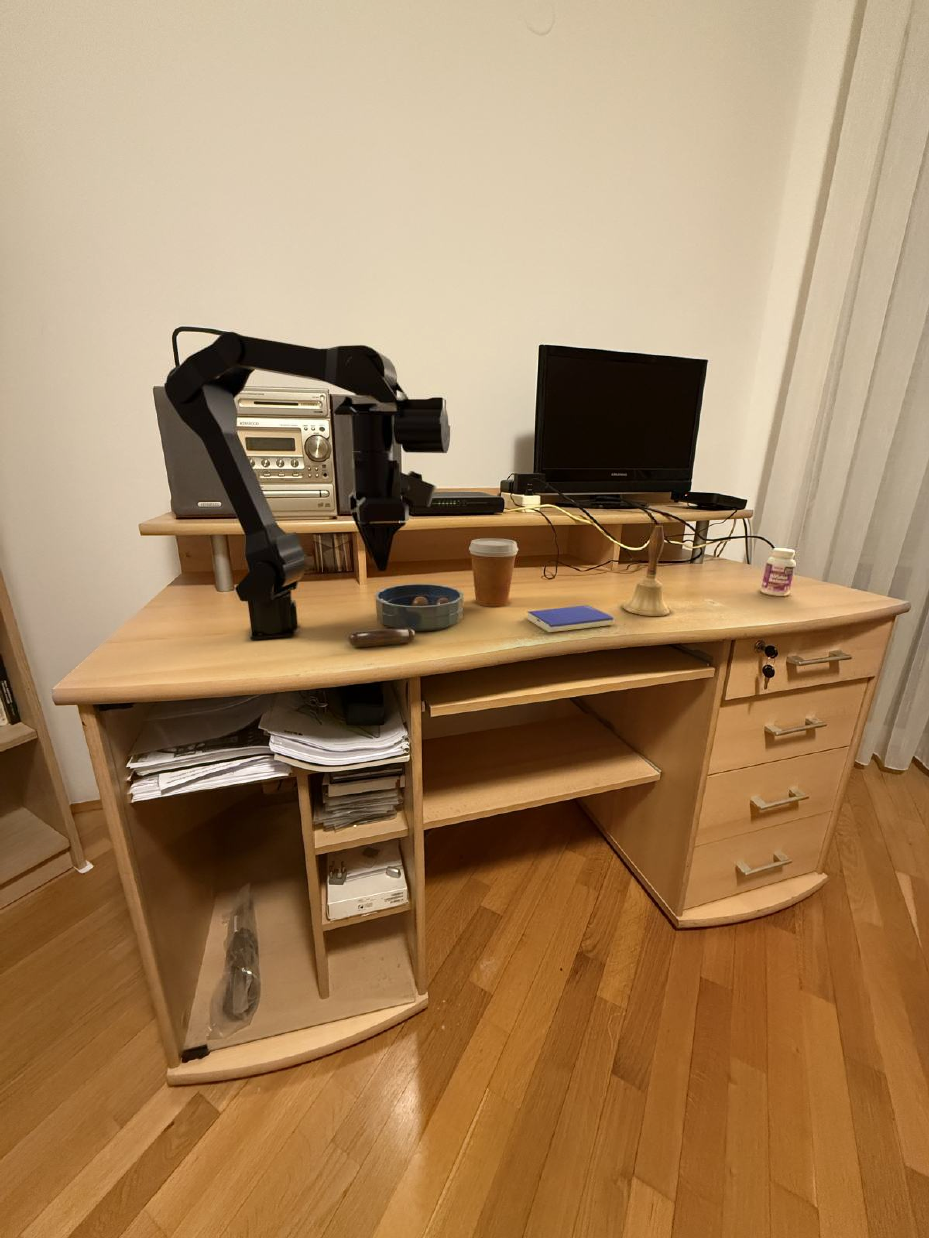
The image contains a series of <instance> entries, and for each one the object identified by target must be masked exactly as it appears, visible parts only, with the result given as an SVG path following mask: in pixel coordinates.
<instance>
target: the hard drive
mask: <svg viewBox="0 0 929 1238" xmlns="http://www.w3.org/2000/svg"><path fill="white" fill-rule="evenodd" d="M526 618H527V620H528V621H530V622H532V623H533V624H535V625H537V626H538V627H540V628H541V629H543V630H544V631H546V632H548V633H554V632H556V633H557V632H564V631H573V630H579V629H588V628H597V627H604V626H612V625H614V617H613V616H612V615H611V614H608V613H606V612H604V611H602V610H599V609H597V608H595V607H593V606H590V605H588V604H585V605H574V606H567V607H557V608H548V609H540V610H529V611H527V612H526Z"/></svg>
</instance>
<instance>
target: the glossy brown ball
mask: <svg viewBox="0 0 929 1238" xmlns="http://www.w3.org/2000/svg"><path fill="white" fill-rule="evenodd" d="M412 606H429V602H428V600H427V599H426V598H424V597H417V598H415V599H414V600H413V602H412Z"/></svg>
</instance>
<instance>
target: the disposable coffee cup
mask: <svg viewBox="0 0 929 1238" xmlns="http://www.w3.org/2000/svg"><path fill="white" fill-rule="evenodd" d="M468 550H469V553H470V554H471V567H472V575H473V576H472V577H473V587H474V597H475V603H476V604H477V605H479V606H483V607H493V608H494V607H503V606H506V605H508V604H509V603H508V602H509V597H510V591H511V590H510V589H511V585H512V579H513V573H514V569H515V568H514V567H515V561H516V557H517V554H518V551H519V550H520V549H519V548H518V545H517V541H515V540H512V539H507V538H496V537H495V538H493V537H492V538H491V537H490V538H488V537H487V538H486V537H485V538H476V539H473V540H471V541H470V546H469V547H468Z"/></svg>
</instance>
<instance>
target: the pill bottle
mask: <svg viewBox="0 0 929 1238" xmlns="http://www.w3.org/2000/svg"><path fill="white" fill-rule="evenodd" d="M795 554H796V550H794V549H791V548H784V547H783V548H781V547H774V548H773V550H772V553H771V555H772V557H769V558H768V559H767V560H766V565H765V569H764V572H763V577H762V581H761V586H760V591H761V592H762V593H763V594H766V595H770V596H777V597H783V596H784V597H785V596H788V595H789V594H790V590H791V587H792V582H793V580H794V579H793V578H794V575H795V570H796V565H797V563H796V561H795V560H794V559H793V558H794V557H795Z"/></svg>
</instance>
